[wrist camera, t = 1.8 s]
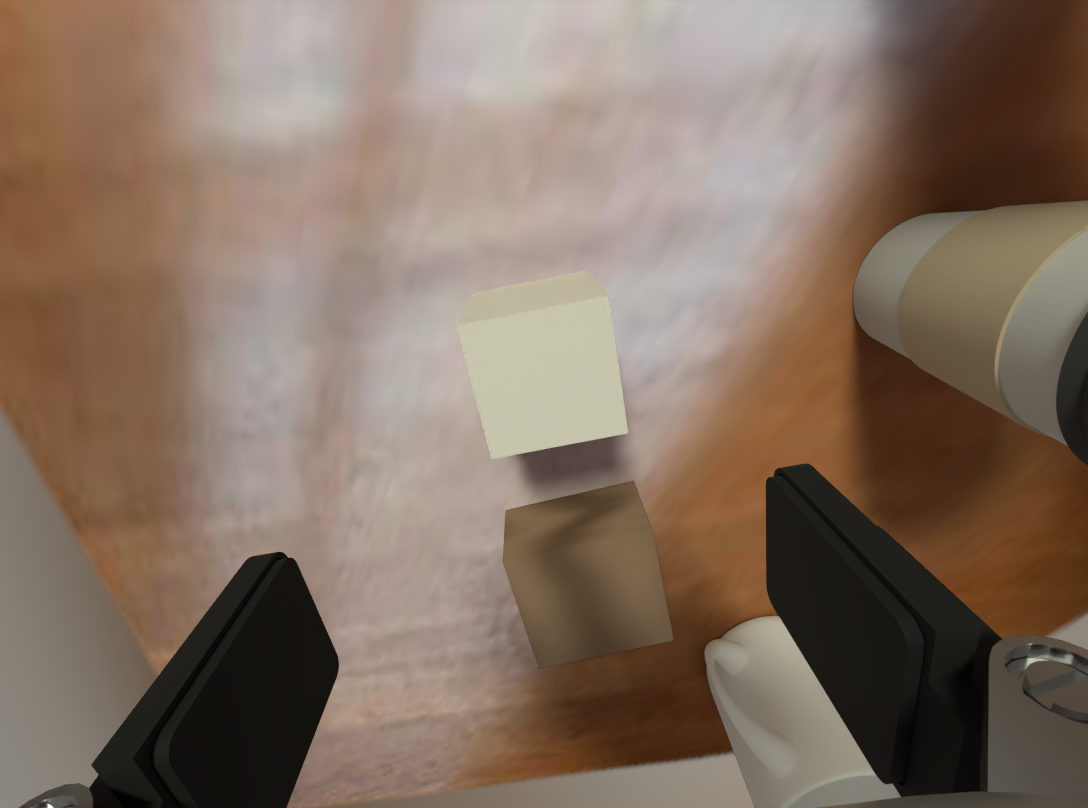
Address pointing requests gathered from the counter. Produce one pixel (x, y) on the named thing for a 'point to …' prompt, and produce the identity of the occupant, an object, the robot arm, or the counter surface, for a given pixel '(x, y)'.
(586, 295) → the cream block
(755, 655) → the mug
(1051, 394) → the coffee cup
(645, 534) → the walnut block
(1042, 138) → the counter surface
